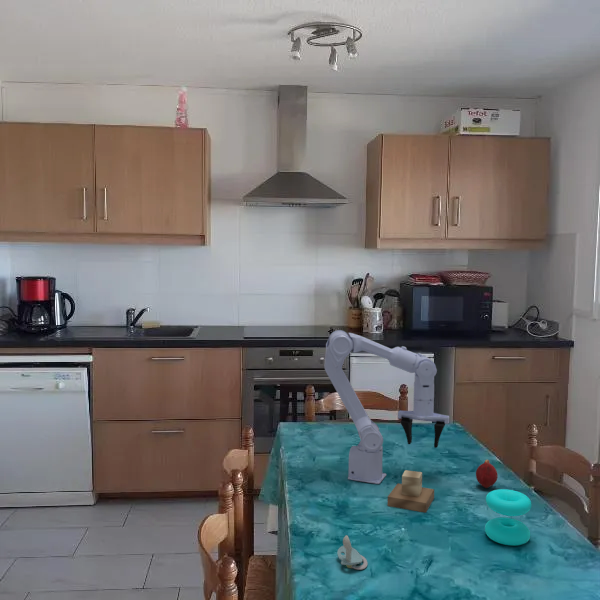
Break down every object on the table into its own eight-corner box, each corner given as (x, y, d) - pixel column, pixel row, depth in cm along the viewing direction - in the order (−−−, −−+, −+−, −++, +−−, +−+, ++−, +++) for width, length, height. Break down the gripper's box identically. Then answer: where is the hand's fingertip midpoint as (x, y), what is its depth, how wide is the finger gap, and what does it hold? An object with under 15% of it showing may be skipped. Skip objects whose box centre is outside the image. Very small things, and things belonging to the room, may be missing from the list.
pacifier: (362, 555, 135) (335, 556, 134) (363, 527, 134) (336, 528, 133) (371, 572, 127) (342, 574, 127) (372, 543, 127) (344, 544, 126)
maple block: (401, 494, 161) (402, 475, 161) (404, 488, 166) (405, 470, 165) (418, 497, 160) (419, 478, 159) (421, 490, 164) (422, 472, 164)
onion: (498, 492, 169) (499, 464, 168) (476, 491, 170) (477, 462, 170) (495, 485, 175) (496, 457, 174) (474, 483, 176) (475, 455, 175)
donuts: (492, 484, 149) (535, 493, 144) (491, 524, 150) (534, 534, 144) (480, 498, 140) (526, 508, 135) (479, 540, 141) (524, 552, 136)
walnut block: (387, 507, 160) (387, 496, 160) (397, 494, 169) (397, 483, 169) (425, 514, 156) (426, 503, 156) (434, 500, 165) (434, 489, 165)
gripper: (395, 399, 177) (394, 445, 178) (446, 404, 171) (445, 452, 172) (401, 394, 183) (400, 438, 184) (451, 398, 178) (449, 445, 179)
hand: (422, 445), depth 179 cm, fingers open, 7 cm apart
